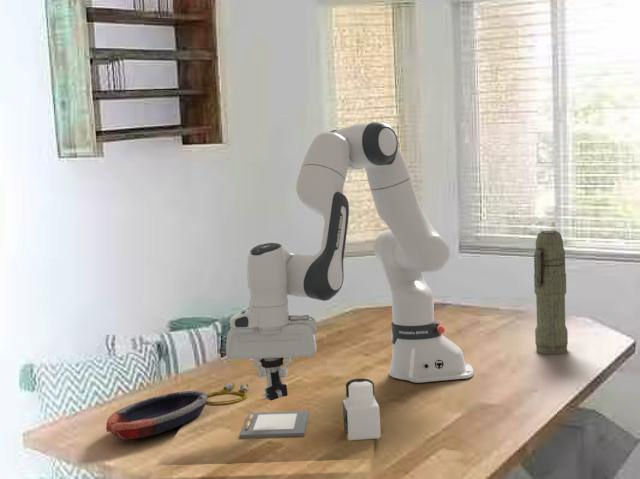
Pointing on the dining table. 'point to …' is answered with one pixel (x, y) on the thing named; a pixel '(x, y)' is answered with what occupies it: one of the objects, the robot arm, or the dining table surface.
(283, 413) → the grey board
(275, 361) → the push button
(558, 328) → the thermos
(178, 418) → the dish
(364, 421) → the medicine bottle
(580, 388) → the dining table surface
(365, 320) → the dining table surface
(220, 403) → the extension cord
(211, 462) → the dining table surface
